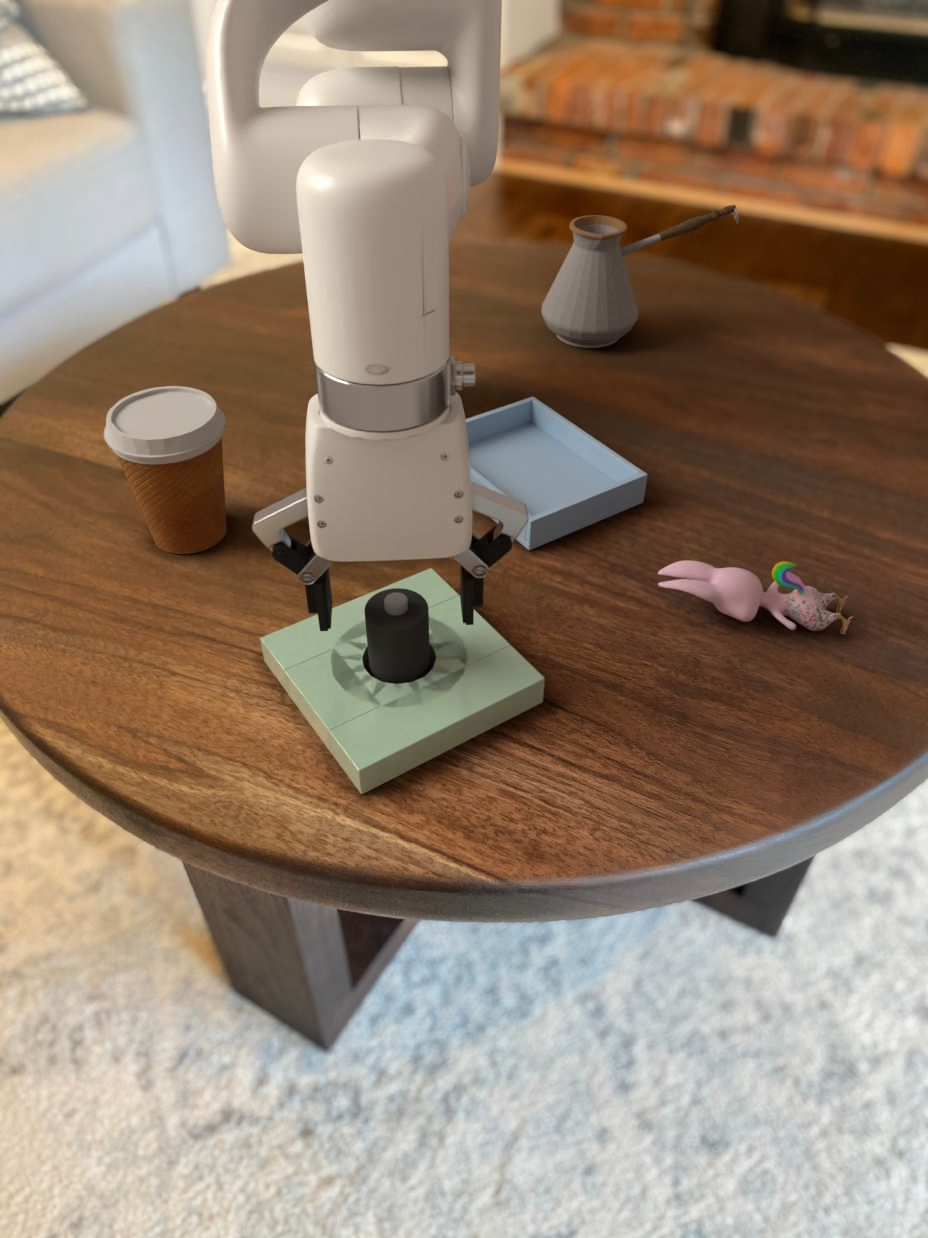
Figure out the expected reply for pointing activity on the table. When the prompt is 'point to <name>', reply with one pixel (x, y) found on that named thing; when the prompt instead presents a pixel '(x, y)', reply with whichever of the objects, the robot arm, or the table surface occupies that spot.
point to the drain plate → (400, 685)
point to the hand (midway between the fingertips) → (396, 614)
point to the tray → (550, 469)
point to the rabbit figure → (755, 593)
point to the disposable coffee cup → (173, 463)
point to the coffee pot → (602, 280)
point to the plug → (397, 636)
